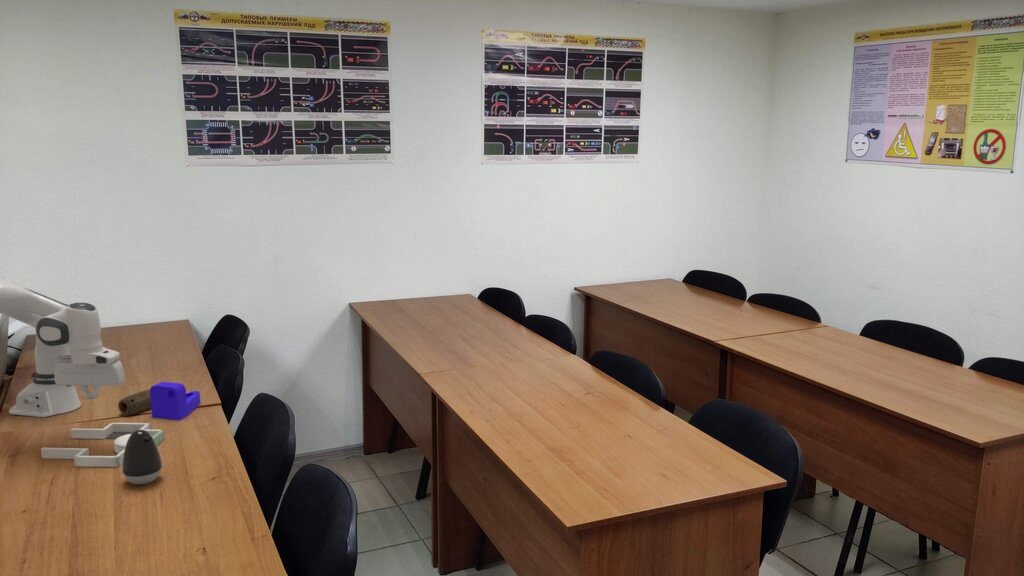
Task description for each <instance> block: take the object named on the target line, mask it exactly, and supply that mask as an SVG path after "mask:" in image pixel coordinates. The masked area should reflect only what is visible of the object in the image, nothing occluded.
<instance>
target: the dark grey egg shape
mask: <svg viewBox="0 0 1024 576" xmlns="http://www.w3.org/2000/svg"><path fill="white" fill-rule="evenodd" d="M162 462H163V461H162V457H161V453H160V451H159V448H158V445H156V443H155V441H154V439H153V438H152V436H151V435H150V434H149V433H148V432H147V431H145V430H137V431H134V432H133V433H132V434H131V435H130V437H129V439H128V441H127V444H126V447H125V451H124V456H123V463H122V467H121V468H122V473H123V475H124V477H125V479H126V480H127V481H128V483H130V484H133V485H147V484H150V483H152V482H153V481H155V480H156V479H157V478H158V477H159V476H160V473H161V472H162V471H161V469H162V467H163V463H162Z"/></svg>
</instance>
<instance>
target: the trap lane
mask: <svg viewBox="0 0 1024 576" xmlns="http://www.w3.org/2000/svg"><path fill="white" fill-rule="evenodd" d="M137 430H145V431H147V432H148V433H149V434H150V435H151V436H152V438H153V439H154V441H155V443H156V445H157V446H158V445H159V444H161V442H162V441H164V440H165V439H166V436H165V435H166V434H165V429H152V423H150V422H149V423H147V422H110V423H108V424H107V425H106V426H104V428H77V427H76V428H73V427H71V429H70V436H71V437H70V438H71V439H89V440H92V439H95V440H98V439H99V440H100V439H101V440H116V439H117V438H118V437H121V436H124V435H127V434H132V433H133V432H134V431H137ZM89 449H90V448H84V447H83V448H82V447H81V448H80V447H79V448H78V447H68V448H67V447H41V448H40V452H41V459H55V460H56V459H59V460H60V459H62V460H63V459H64V460H65V459H66V460H70V459H71V460H73V465H74V467H77V468H78V467H81V468H82V467H85V468H87V467H88V468H90V467H92V468H93V467H94V468H96V467H97V468H119V467H120V466H121V465H123V456H124V451H125V449H124V450H123V451H121V452H120V453H119V454H116V455H90V450H89Z"/></svg>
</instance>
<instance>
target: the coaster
mask: <svg viewBox="0 0 1024 576" xmlns="http://www.w3.org/2000/svg"><path fill="white" fill-rule="evenodd" d="M130 435H131V434H127V435H124V436H121V437H118V438H117V439H114V442H113V448H114V453H116V455H118V454H119V453H120V452H121V451H123V450H124V449H125V447H126V444H127V441H128V439H129V437H130Z"/></svg>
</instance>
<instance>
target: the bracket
mask: <svg viewBox="0 0 1024 576" xmlns="http://www.w3.org/2000/svg"><path fill="white" fill-rule="evenodd" d="M149 390H150V398H151V409H150V410H151V417H152V418H156V419H165V420H173V421H181V420H182V419H185V418H187V417H188V416H189V415H190V414H191V413H192V412H193V411H194V410H196V408H198V406H200V405H201V392H200V391H199V390H193V391H189V392H187V388H186V387H185V385H184V384H183V383H178V382H170V381H169V382H168V381H161V382H158V383H156V384H154V385H152V386H151V387H150V388H149Z"/></svg>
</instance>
